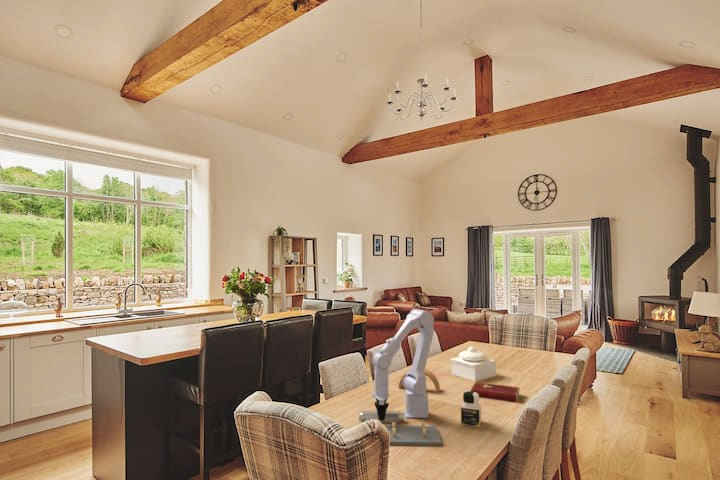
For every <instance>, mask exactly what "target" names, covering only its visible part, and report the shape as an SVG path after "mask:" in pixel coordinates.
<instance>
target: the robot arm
mask: <svg viewBox="0 0 720 480" xmlns="http://www.w3.org/2000/svg"><path fill="white" fill-rule="evenodd" d="M434 321H435V317H434V315H433V314H432V312H430V311H428V310H424V309H423V310H422V309H419V308H412V309H411V310H410V311H409V313H408V314H407V315H406V318H405V320H404V322H403V324H402V325H401V326H400V327H399V330H398V331H397V332H396V334H395V335H394V336H393V337H390V338H388V339H386V340H385V344H384V345H383V346H382V348H380V349H379V350H378V352H376V353H375V354H374V355H373V357H372V359H371V362H372V364H373V366H374V372H373V373H374V392H371V397H374V398H375V400H376V401H374V407H375V409H376V411H377V412H378V418H379V421H384V420H385V415H386V411H388V410H387V409H388V408H389V404H390V403H389V402H387V400H388V398H389V397H390V393H389V368H390V366H391V364H392V360H393V358H394V357H395V355H396V354H397V353H398V351H399V350H400V349H401V346H402V345H401V343H402V342H403V340H405V338H406V337H407V336H408V335H409V333H410V332H411V331H412V330H413V329H418V331H419V337H418V341H417V345H416V348H415V353H414V357H413V359H412V364H411V367H410V368H409V370H407V372H406V373H407V374H406V373H405V374H406V376H405V378H404V379H403V388H404V389H405V409H404V418H406V419H407V418H410V419H425V418H426V419H429V411H430V410H429V395H428V393H426V390H427V376H426V375H425V374H424V370H425V369H426V365H427V360H428V357H429V352H430V349H431V347H432V346H431V345H432V341H433V337H434V333H435V328H434Z"/></svg>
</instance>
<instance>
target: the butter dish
mask: <svg viewBox="0 0 720 480" xmlns="http://www.w3.org/2000/svg"><path fill="white" fill-rule="evenodd" d="M449 361H450V375H453V376H456V377H459V378H463V379H466V380H469V381H472V382H480V381H482V380H486V379H490V378H495V377H497V361H496V360H494V359H490V358H487V355H486V354H485V353H484V352H481V351H479V350H477V349H476V347H474V346H469V347H468V348H467V350H463V351H460V352H459V353H458V356H457V357H452V358H449Z"/></svg>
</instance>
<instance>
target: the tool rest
mask: <svg viewBox="0 0 720 480" xmlns="http://www.w3.org/2000/svg"><path fill="white" fill-rule="evenodd" d="M391 423H392V424H391V425H384V426H385V427H386V428H387V430H388V431H389V433H390V445H389V446H426V447H427V446H429V447H430V446H433V447H442V446H443V445H442V444H443V442H442V439H441V436H440V434H439V430H438V428H437V426H434V425H433V426H432V425H431V426H428V425H426V423H425V422H421V424H420V425H396V422H391ZM425 425H426V426H425Z"/></svg>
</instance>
